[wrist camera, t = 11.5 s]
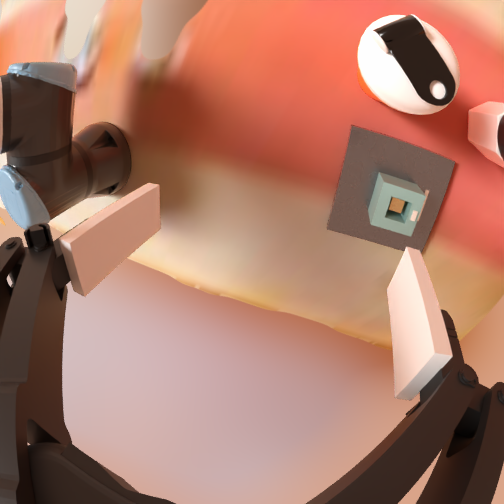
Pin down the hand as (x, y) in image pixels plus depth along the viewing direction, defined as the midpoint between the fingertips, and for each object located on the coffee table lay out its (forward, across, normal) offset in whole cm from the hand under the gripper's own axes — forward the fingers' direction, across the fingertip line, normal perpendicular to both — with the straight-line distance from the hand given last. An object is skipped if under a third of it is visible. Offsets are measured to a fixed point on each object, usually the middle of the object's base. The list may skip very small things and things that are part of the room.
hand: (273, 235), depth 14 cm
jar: (+29, +25, +11) cm, 40 cm away
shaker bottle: (+29, +7, +12) cm, 32 cm away
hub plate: (+29, +12, -4) cm, 31 cm away
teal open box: (+27, +12, -4) cm, 30 cm away
